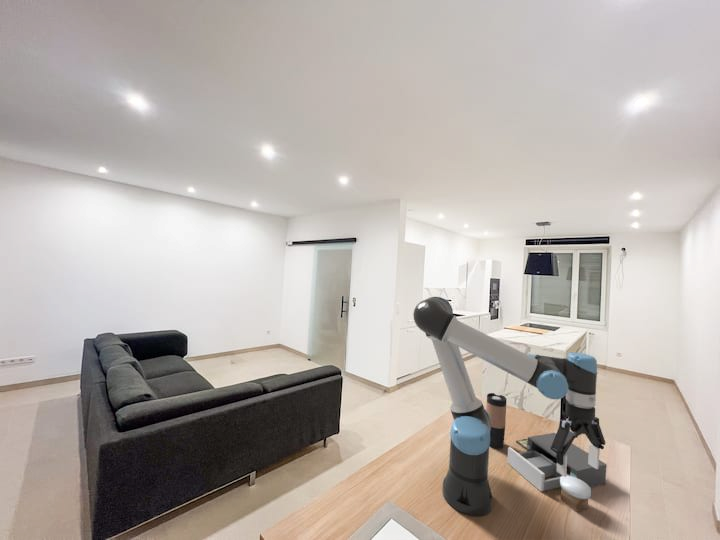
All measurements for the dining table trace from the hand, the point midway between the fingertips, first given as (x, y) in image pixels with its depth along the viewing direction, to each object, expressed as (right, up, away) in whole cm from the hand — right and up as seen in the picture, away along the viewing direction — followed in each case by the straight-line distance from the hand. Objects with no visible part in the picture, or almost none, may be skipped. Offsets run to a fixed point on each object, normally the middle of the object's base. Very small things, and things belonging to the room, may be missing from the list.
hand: (577, 470), depth 95 cm
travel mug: (-13, -10, +31) cm, 35 cm away
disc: (-1, -6, 0) cm, 6 cm away
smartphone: (+4, -11, +27) cm, 30 cm away
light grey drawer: (-4, -11, +14) cm, 18 cm away
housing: (+7, -11, +18) cm, 22 cm away
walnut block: (-1, -11, 0) cm, 11 cm away
